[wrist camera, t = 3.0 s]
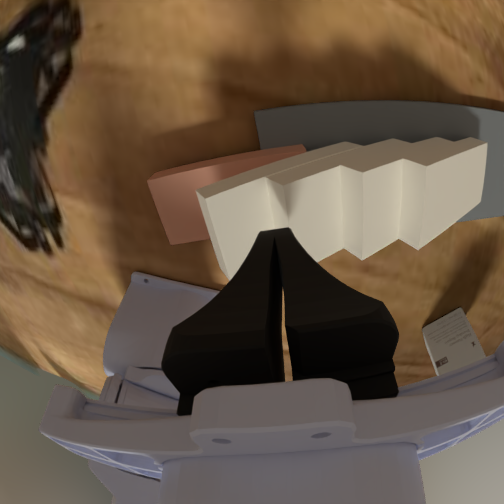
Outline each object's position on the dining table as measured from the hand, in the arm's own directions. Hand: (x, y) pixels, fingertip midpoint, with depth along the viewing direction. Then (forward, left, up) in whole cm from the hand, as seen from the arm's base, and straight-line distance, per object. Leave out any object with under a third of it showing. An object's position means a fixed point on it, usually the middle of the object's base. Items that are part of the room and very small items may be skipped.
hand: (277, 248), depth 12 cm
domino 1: (+5, +2, -7) cm, 9 cm away
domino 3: (+12, +5, -7) cm, 15 cm away
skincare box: (+26, -11, -9) cm, 29 cm away
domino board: (+12, +5, -8) cm, 15 cm away
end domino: (+2, +1, -7) cm, 7 cm away
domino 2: (+8, +4, -7) cm, 11 cm away
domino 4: (+15, +7, -7) cm, 18 cm away
